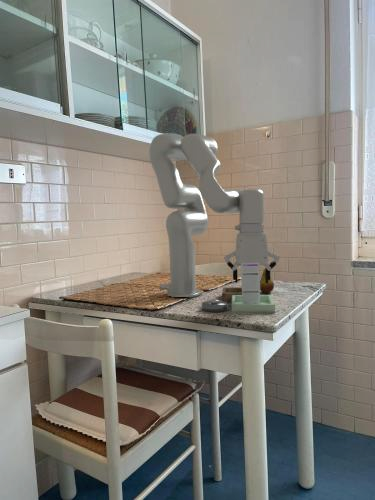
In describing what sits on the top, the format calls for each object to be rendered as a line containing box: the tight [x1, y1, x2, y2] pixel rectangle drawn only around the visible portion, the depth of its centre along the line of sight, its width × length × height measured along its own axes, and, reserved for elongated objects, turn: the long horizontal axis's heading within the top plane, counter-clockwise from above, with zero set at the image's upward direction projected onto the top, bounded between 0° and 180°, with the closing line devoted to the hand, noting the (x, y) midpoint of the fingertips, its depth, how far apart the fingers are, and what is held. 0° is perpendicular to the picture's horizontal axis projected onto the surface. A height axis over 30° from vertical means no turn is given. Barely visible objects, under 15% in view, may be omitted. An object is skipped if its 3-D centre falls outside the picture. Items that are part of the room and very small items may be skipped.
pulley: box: [201, 298, 228, 314], centre depth 120 cm, size 8×8×3 cm
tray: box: [231, 294, 276, 314], centre depth 122 cm, size 13×13×2 cm
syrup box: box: [240, 263, 261, 304], centre depth 121 cm, size 6×6×14 cm
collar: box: [221, 286, 242, 303], centre depth 134 cm, size 10×10×3 cm
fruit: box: [260, 261, 275, 294], centre depth 142 cm, size 6×6×12 cm
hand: (251, 282), depth 121 cm, fingers open, 9 cm apart
